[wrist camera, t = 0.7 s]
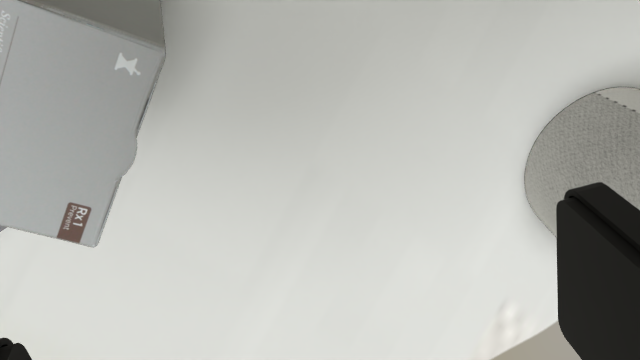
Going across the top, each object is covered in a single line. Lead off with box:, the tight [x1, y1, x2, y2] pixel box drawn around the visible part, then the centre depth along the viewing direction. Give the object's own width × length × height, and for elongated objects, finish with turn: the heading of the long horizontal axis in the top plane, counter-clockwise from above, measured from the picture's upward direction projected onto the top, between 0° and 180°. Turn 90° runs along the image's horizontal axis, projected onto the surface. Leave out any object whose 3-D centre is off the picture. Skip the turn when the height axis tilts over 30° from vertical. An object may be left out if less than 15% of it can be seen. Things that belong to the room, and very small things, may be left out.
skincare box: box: [0, 0, 166, 247], centre depth 26 cm, size 8×7×16 cm
